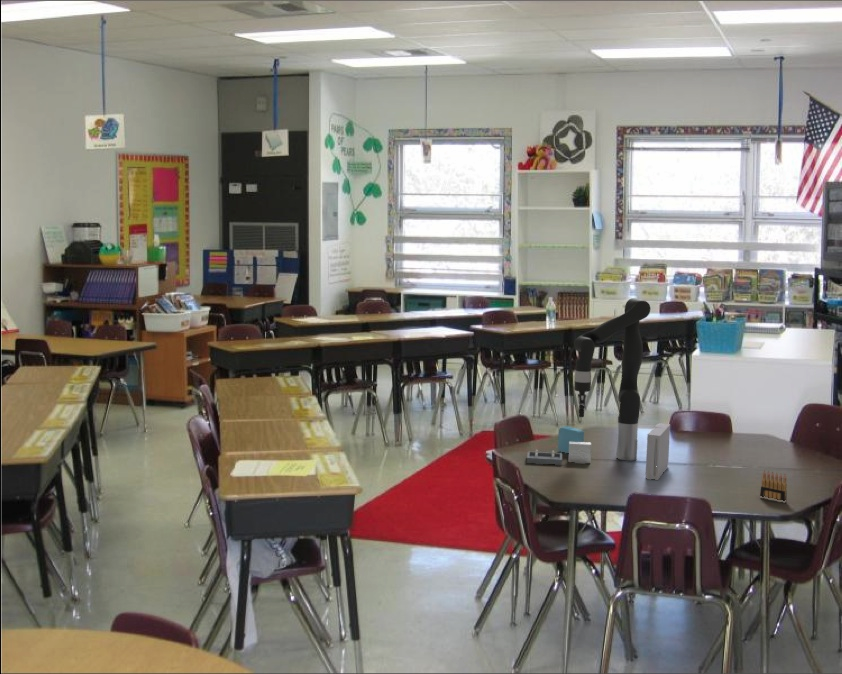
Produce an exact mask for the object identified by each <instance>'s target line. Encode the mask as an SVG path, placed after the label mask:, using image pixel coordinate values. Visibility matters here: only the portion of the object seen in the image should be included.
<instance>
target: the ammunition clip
mask: <svg viewBox="0 0 842 674" xmlns="http://www.w3.org/2000/svg"><path fill="white" fill-rule="evenodd" d="M778 475H779V476H778ZM761 478H762V479H761V486H760V493H759V497H760V496H762V497H764V496H765V497H768V498H774V499H777V500H783V501H785V500H786V501H787V494H788V493H787V475H786V473H785V474H784V476H783V475H782V473H780V474H778V472H775V474H774V471H772V472H771V473H770V471H769V470H768V471H767V473H766V470H765V469H764V471H762V477H761Z"/></svg>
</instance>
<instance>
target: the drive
mask: <svg viewBox="0 0 842 674" xmlns="http://www.w3.org/2000/svg"><path fill="white" fill-rule="evenodd" d="M591 456H592V442H589V441H588V442H587V441H586V442H585V441H584V442H569V454H568V462H575V463H574V464H585V463H590V464H591V458H592V457H591Z"/></svg>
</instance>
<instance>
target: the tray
mask: <svg viewBox="0 0 842 674" xmlns="http://www.w3.org/2000/svg"><path fill="white" fill-rule="evenodd" d="M527 463H536V464H535V465H543V464H555V465H554V466H563V453H562V452H555V450H551V452H546V451H545V452H543V451H539V450H538V449H535V451H527V455H526V464H527Z"/></svg>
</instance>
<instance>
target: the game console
mask: <svg viewBox="0 0 842 674" xmlns="http://www.w3.org/2000/svg"><path fill="white" fill-rule="evenodd" d="M670 433H671V424H670V423H661V422H660V423H659V422H658V423H656V425H655V426H654V427H653V429H651V430H650V431H649V432H648V433H647V437H646V438H647V439H646V440H647V441H646V457H645V458H646V459H645V460H646V461H645V478H644V479H646V478H647V479H646V480H651V479H655V480H654V481H658V480H659V479H660V478H661V477H662V475H664V473H665V471H666V470H667V469H668V465H669V456H670V455H669V454H670V437H671V434H670ZM656 466H657V467H656ZM663 472H664V473H663ZM660 476H661V477H660Z"/></svg>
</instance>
